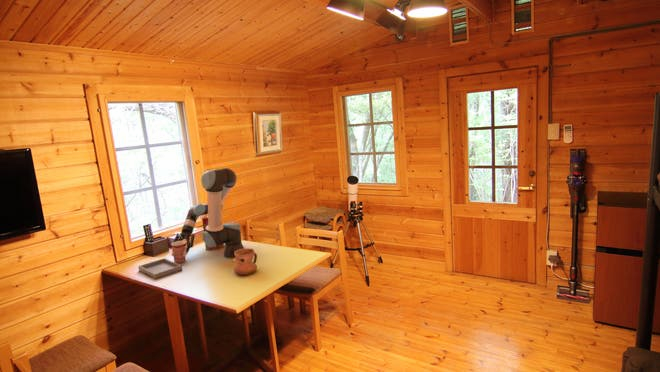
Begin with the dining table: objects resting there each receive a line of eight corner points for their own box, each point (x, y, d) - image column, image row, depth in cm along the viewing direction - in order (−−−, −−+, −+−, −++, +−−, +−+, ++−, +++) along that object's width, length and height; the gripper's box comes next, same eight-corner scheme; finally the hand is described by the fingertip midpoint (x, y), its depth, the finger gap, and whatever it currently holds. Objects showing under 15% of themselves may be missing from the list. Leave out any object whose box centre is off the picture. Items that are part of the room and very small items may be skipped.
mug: (177, 265, 272) (175, 246, 269) (170, 261, 278) (168, 243, 275) (193, 259, 282) (192, 241, 279) (187, 256, 287) (185, 238, 285)
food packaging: (205, 250, 300) (201, 218, 295) (206, 246, 309) (203, 215, 304) (223, 248, 302) (220, 216, 298) (224, 244, 311) (221, 213, 307)
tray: (182, 270, 262) (181, 265, 261) (155, 279, 249) (154, 274, 248) (165, 262, 278) (164, 257, 277) (139, 271, 265) (138, 266, 264)
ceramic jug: (241, 279, 241) (239, 257, 239) (227, 274, 251) (226, 252, 249) (264, 270, 254) (263, 249, 252) (251, 265, 264) (249, 245, 262)
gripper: (204, 229, 289) (194, 258, 277) (178, 229, 294) (167, 257, 281) (199, 224, 283) (189, 254, 271) (172, 224, 288) (162, 253, 275)
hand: (178, 255), depth 276 cm, fingers closed on mug, 8 cm apart
